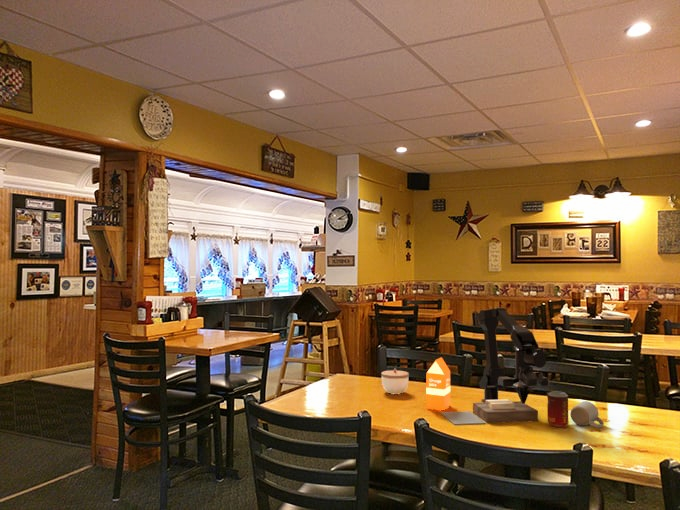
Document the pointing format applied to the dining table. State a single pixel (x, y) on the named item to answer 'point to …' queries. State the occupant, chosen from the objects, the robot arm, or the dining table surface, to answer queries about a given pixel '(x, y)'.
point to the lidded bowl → (395, 381)
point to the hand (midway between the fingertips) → (523, 403)
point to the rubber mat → (462, 418)
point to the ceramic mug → (586, 414)
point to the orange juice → (438, 386)
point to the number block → (499, 404)
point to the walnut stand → (506, 413)
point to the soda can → (557, 409)
